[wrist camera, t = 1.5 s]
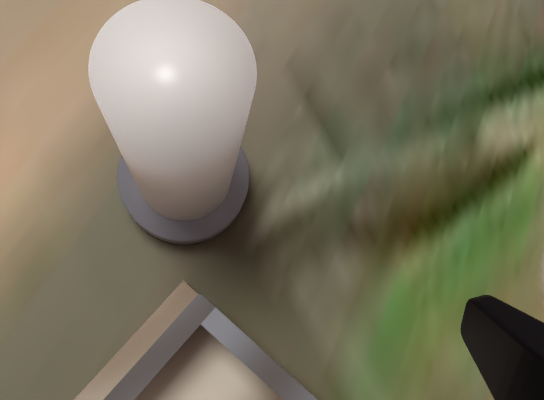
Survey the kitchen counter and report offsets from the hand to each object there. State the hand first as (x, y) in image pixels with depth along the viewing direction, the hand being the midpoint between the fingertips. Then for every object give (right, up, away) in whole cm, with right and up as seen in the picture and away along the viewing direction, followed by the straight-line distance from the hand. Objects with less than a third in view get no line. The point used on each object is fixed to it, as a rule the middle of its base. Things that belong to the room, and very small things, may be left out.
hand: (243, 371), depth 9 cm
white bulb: (-3, +4, +14) cm, 15 cm away
